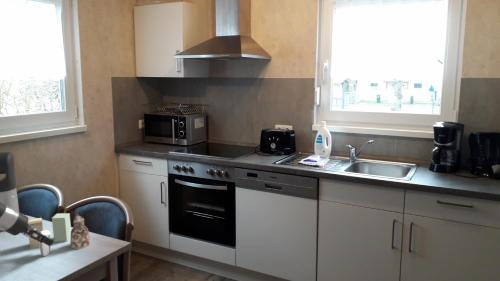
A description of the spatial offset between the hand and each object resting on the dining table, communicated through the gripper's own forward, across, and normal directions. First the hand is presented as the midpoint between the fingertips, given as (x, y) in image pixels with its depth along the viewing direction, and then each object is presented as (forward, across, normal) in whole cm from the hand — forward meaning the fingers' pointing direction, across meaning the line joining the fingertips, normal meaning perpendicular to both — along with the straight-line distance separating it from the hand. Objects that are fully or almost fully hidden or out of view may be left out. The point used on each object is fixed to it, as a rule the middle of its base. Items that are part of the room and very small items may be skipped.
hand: (48, 241), depth 153 cm
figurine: (+11, -2, -4) cm, 12 cm away
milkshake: (+2, 0, +5) cm, 5 cm away
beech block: (+3, +11, +4) cm, 12 cm away
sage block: (+10, +9, -3) cm, 13 cm away
